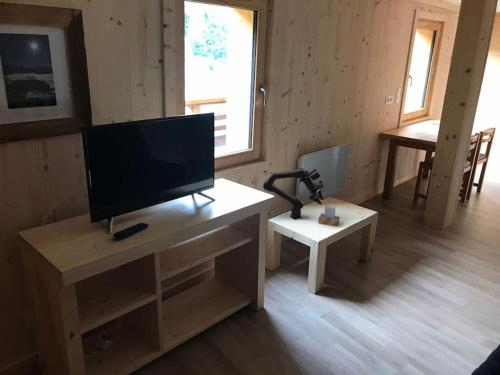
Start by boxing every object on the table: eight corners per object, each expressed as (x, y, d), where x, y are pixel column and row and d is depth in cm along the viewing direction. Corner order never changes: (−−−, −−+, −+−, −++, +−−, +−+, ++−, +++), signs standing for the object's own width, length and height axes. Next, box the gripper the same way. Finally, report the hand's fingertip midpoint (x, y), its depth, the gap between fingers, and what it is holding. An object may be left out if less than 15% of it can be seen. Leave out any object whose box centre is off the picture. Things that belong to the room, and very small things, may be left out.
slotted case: (318, 223, 287) (318, 217, 285) (321, 219, 294) (321, 213, 292) (336, 226, 282) (337, 220, 280) (339, 222, 289) (339, 216, 287)
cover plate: (323, 219, 288) (325, 206, 284) (324, 218, 289) (325, 205, 286) (333, 221, 285) (335, 208, 282) (334, 220, 287) (335, 207, 283)
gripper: (316, 181, 274) (329, 200, 275) (321, 174, 291) (333, 192, 291) (303, 190, 279) (316, 208, 280) (308, 182, 295) (321, 199, 296)
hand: (322, 202), depth 287 cm, fingers open, 9 cm apart
